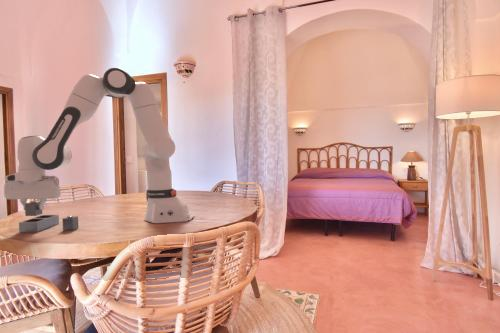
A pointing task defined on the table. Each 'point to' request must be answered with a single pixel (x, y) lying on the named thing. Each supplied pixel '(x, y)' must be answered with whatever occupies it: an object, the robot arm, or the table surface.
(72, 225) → the dark grey block
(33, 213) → the nut
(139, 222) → the table surface
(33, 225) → the grey holder block
